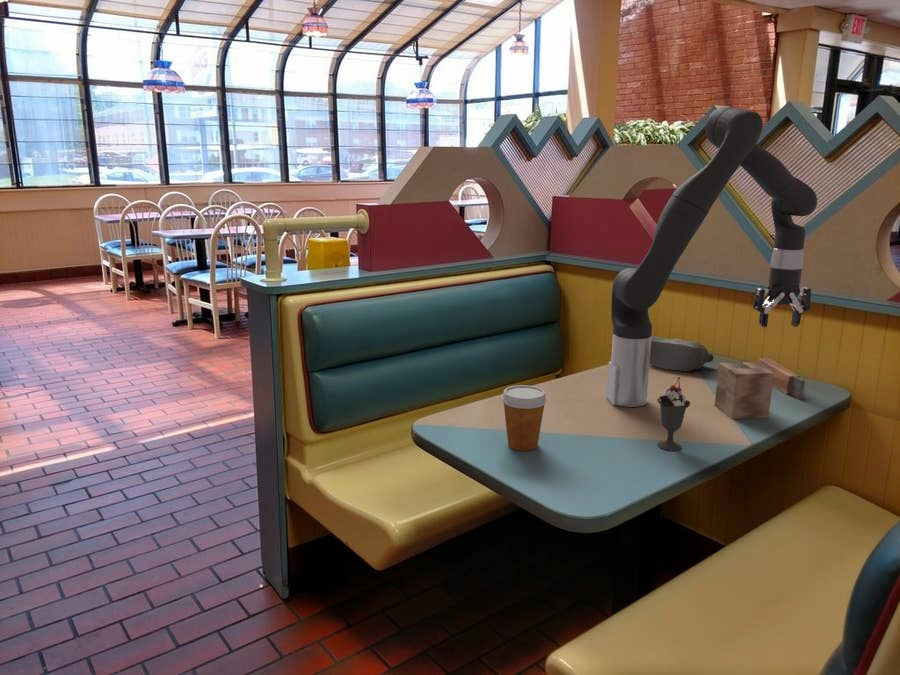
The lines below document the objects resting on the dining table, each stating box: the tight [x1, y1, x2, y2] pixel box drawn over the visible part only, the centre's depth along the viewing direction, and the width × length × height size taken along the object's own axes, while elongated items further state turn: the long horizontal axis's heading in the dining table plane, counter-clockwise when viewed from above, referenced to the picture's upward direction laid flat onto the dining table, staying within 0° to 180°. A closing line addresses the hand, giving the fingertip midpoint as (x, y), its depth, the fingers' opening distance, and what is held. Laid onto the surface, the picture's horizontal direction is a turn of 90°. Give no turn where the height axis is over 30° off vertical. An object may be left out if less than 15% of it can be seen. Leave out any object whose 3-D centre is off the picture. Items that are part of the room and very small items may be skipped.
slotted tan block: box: [714, 361, 774, 420], centre depth 169 cm, size 9×9×11 cm
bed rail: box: [756, 357, 806, 401], centre depth 188 cm, size 3×20×5 cm, turn 5°
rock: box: [649, 336, 714, 372], centre depth 206 cm, size 18×11×8 cm, turn 57°
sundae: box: [656, 376, 691, 452], centre depth 149 cm, size 7×7×15 cm
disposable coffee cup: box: [501, 384, 548, 452], centre depth 150 cm, size 10×10×12 cm
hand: (779, 326), depth 188 cm, fingers open, 8 cm apart
